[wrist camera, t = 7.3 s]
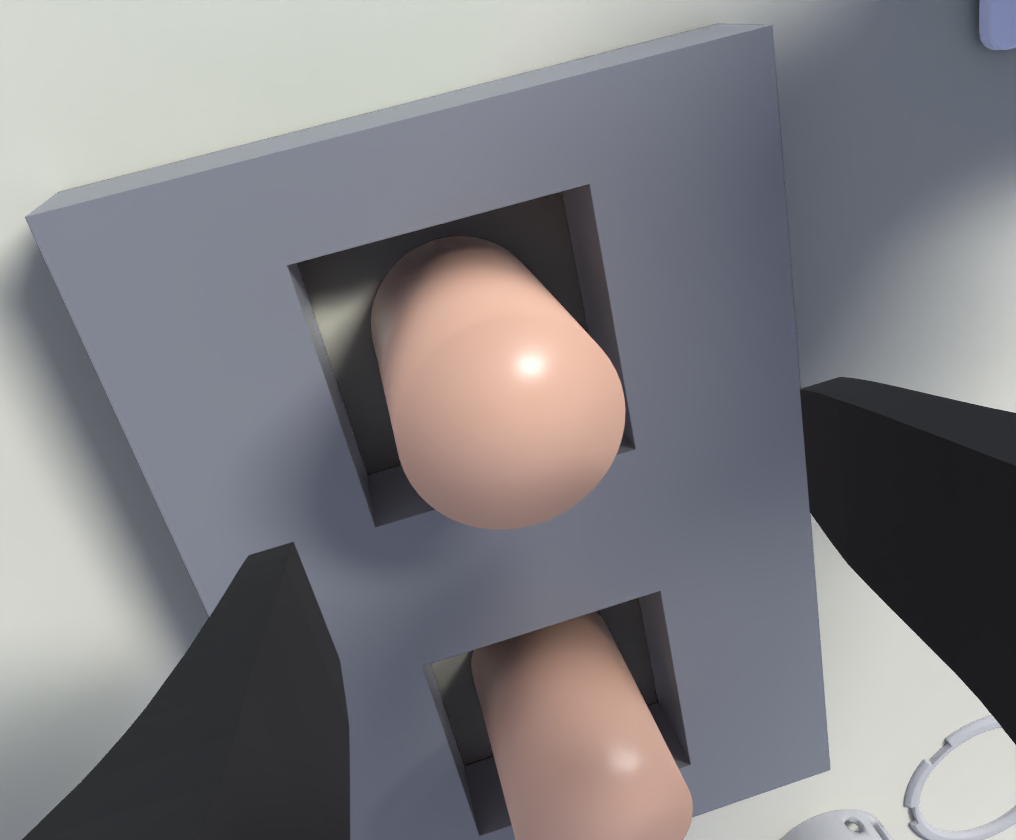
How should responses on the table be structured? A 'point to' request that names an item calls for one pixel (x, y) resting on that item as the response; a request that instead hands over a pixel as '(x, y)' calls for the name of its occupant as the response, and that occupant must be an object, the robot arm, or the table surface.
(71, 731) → the table surface
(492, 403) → the pink rounded capsule
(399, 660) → the housing
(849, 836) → the robot parts
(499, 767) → the fitted pink peg
